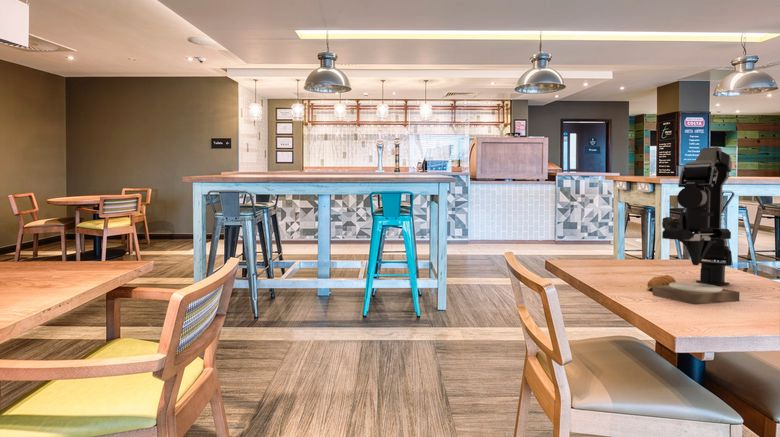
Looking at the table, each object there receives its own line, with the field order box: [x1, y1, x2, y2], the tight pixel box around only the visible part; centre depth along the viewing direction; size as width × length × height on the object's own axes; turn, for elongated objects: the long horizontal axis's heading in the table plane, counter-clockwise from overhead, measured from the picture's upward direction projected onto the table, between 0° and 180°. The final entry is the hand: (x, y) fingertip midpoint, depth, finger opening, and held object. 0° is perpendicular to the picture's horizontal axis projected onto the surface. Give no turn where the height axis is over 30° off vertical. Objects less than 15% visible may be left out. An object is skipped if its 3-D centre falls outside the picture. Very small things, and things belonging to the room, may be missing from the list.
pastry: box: [646, 274, 677, 289], centre depth 142 cm, size 9×7×4 cm
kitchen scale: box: [652, 281, 741, 305], centre depth 131 cm, size 16×13×3 cm
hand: (695, 265), depth 131 cm, fingers closed
